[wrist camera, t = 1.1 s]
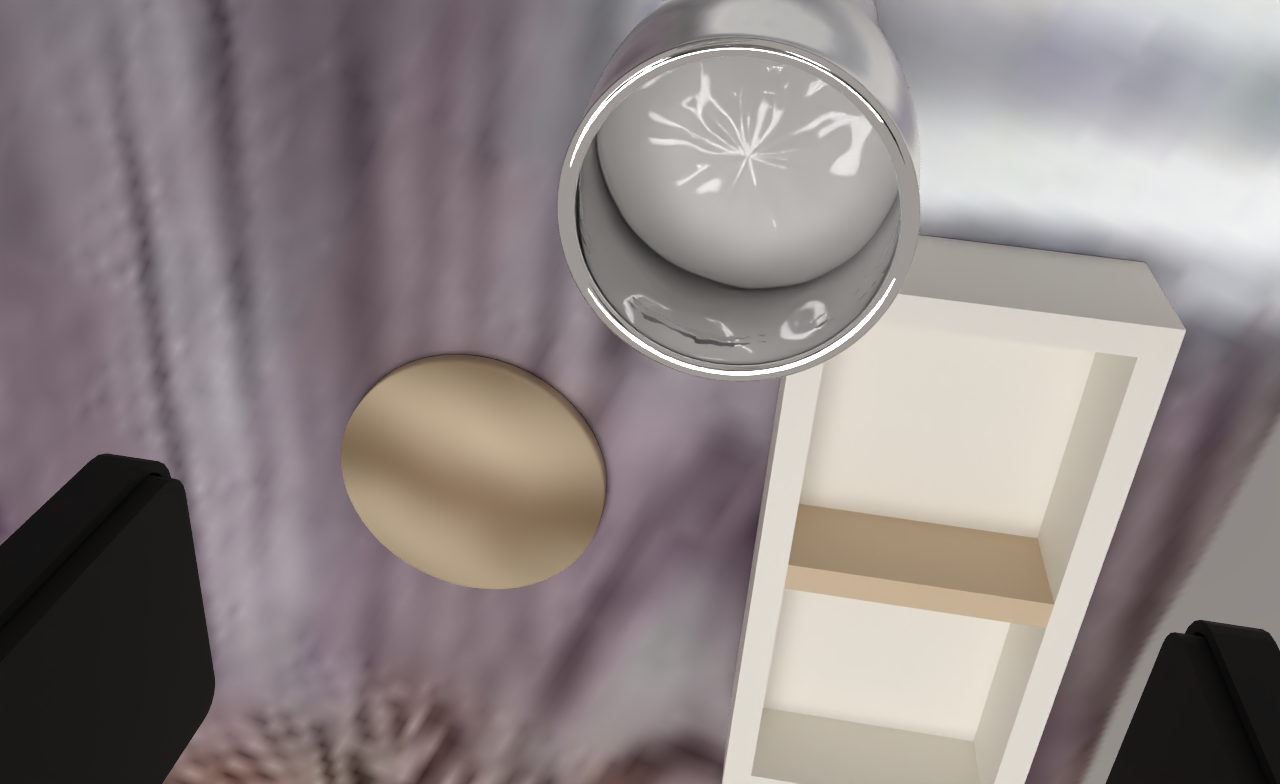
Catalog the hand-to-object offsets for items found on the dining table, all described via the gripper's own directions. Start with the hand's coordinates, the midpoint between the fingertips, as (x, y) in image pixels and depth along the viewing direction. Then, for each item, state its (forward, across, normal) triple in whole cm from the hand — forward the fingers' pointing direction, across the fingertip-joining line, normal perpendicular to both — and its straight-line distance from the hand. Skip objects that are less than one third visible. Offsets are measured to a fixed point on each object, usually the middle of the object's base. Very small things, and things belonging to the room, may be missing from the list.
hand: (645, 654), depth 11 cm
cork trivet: (+26, +9, +17) cm, 32 cm away
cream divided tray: (+26, -7, +16) cm, 31 cm away
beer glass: (+26, 0, 0) cm, 26 cm away
